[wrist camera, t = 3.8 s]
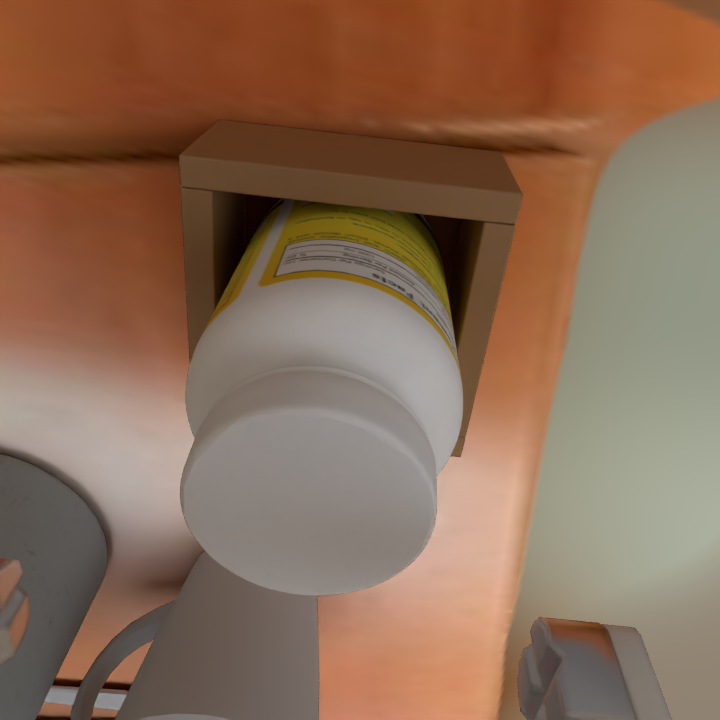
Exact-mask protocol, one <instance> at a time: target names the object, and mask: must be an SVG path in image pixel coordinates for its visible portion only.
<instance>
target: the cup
mask: <svg viewBox="0 0 720 720" xmlns="http://www.w3.org/2000/svg"><path fill="white" fill-rule="evenodd" d="M152 640H154V641H153V642H152V644H151V647H150V649H149V651H148V653H147V655H146V657H145V659H144V661H143V663H142V665H141V667H140V669H139V671H138V673H137V675H136V677H135V679H134V681H133V683H132V685H131V687H130V689H129V691H128V693H127V695H126V698H125V700H124V702H123V704H122V706H121V708H120V710H119V712H118V714H117V716H116V718H115V720H319V641H318V604H317V595H316V596H315V595H299V594H290V593H285V592H281V591H276V590H272V589H268V588H265V587H262V586H259V585H256V584H254V583H252V582H249V581H247V580H245V579H243V578H241V577H239V576H237V575H235V574H234V573H232V572H231V571H229V570H228V569H226V568H224V567H223V566H221V565H220V564H219V563H218V562H217V561H215V560H214V559H213V558H212V557H210V556H209V554H208V553H207V552H206V551H204V552H203V553H202V554H201V555H200V556H199V558H198V559H197V561H196V563H195V564H194V566H193V568H192V570H191V572H190V574H189V576H188V577H187V579H186V581H185V583H184V585H183V587H182V589H181V590H180V592H179V594H178V596H177V598H176V599H175V600H173V601H171V602H169V603H166V604H164V605H162V606H160V607H158V608H156V609H154V610H152V611H150V612H149V613H147V614H145V615H144V616H142V617H140V618H139V619H137V620H135V621H134V622H132V623H130V624H129V625H128V626H127V627H126V628H125V629H123V630H122V631H121V632H120V633H119V634H118V635H117V636H115V637H114V638H113V639H112V640H111V641H110V642H109V644H108V645H107V646H106V647H105V648H104V649H103V651H102V652H101V653H100V654H99V655H98V657H97V658H96V659H95V661H94V663H93V664H92V666H91V667H90V669H89V670H88V672H87V674H86V675H85V677H84V678H83V681H82V683H81V685H80V688H79V690H78V692H77V694H76V697H75V701H74V704H73V708H72V711H71V720H91V717H92V712H93V707H94V704H95V701H96V699H97V696H98V694H99V691H100V690H101V688H102V686H103V685H104V683H105V682H106V680H107V679H108V677H109V675H110V674H111V673H112V671H113V670H114V669H115V668H116V667H117V666H118V665H119V664H120V663H121V662H122V660H123V659H124V658H126V657H127V656H128V655H130V654H131V653H132V652H134V651H135V650H136V649H138V648H139V647H140V646H142V645H144V644H146V643H148V642H150V641H152Z"/></svg>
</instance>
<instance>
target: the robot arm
mask: <svg viewBox="0 0 720 720" xmlns="http://www.w3.org/2000/svg"><path fill="white" fill-rule="evenodd" d="M22 576H23V572H22V569H21V565H20V562H19V560H14V559H6V558H0V665H1V664H3V663H4V662H6V661H7V660H8V659H10V658H11V657H13V656H14V655H15V654H16V652H17V650H18V648H19V646H20V644H21V642H22V641H23V639H24V637H25V633H26V630H27V627H28V623H29V620H30V610H31V603H30V599H29V594H28V593H27V592H26V591H25V590H24V589H23V588H21V587H20V586H19V585H18V583H19V581H20V579H21V578H22ZM530 634H531V638H532V644H530V645H529V646H527V647H525V648H524V649H523V651H522V654H521V657H520V660H519V665H518V675H517V687H518V699H519V705H520V711H521V712H522V714H523V715H524V716H525V717H526V719H527V720H672V718H671V715H670V712H669V710H668V707H667V704H666V702H665V699H664V696H663V694H662V691H661V688H660V686H659V683H658V680H657V677H656V675H655V672H654V669H653V667H652V664H651V662H650V659H649V656H648V653H647V651H646V648H645V645H644V643H643V640H642V637H641V635H640V633H639V632H638V631H637V630H636V629H635V628H632V627H625V626H615V625H604V624H600V623H594V622H583V621H574V620H564V619H553V618H543V617H539V618H537V619H536V620H535V621H534V623H533V625H532V628H531V630H530Z"/></svg>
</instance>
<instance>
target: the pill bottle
mask: <svg viewBox="0 0 720 720" xmlns="http://www.w3.org/2000/svg"><path fill="white" fill-rule="evenodd" d="M186 410H187V415H188V420H189V424H190V427H191V430H192V433H193V435H194V438H195V439H194V443H193V445H192V448H191V451H190V453H189V456H188V459H187V461H186V464H185V466H184V469H183V473H182V478H181V484H180V500H181V507H182V512H183V515H184V518H185V521H186V523H187V525H188V527H189V529H190V531H191V533H192V535H193V536H194V538H195V539H196V541H197V542H198V543H199V545H200V546H201V547H202V548H203V549H204V550H205V551H206V552H207V553H208V554H209V556H210V557H212V558H213V559H214V560H215V561H217V562H218V563H219V564H220V565H221V566H223V567H224V568H226V569H228V570H229V571H231V572H232V573H234V574H235V575H237V576H239V577H241V578H243V579H245V580H247V581H249V582H252V583H254V584H256V585H259V586H262V587H265V588H268V589H272V590H276V591H281V592H285V593H290V594H299V595H315V596H316V595H336V594H344V593H349V592H354V591H358V590H362V589H366V588H369V587H372V586H374V585H377V584H379V583H382V582H384V581H386V580H388V579H389V578H391V577H393V576H395V575H396V574H398V573H399V572H401V571H402V570H404V569H405V568H406V567H407V566H409V565H410V564H411V563H412V562H413V561H414V560H415V559H416V558H417V557H418V556H419V554H420V553H421V552H422V551H423V549H424V548H425V546H426V544H427V543H428V541H429V539H430V537H431V534H432V531H433V528H434V526H435V520H436V513H437V488H436V476H437V475H438V474H439V473H440V471H441V470H442V468H443V467H444V466H445V464H446V462H447V461H448V459H449V458H450V456H451V454H452V452H453V450H454V447H455V445H456V442H457V440H458V436H459V433H460V428H461V423H462V417H463V387H462V380H461V373H460V368H459V362H458V356H457V350H456V343H455V336H454V330H453V323H452V317H451V311H450V305H449V298H448V292H447V286H446V279H445V273H444V268H443V261H442V257H441V252H440V249H439V246H438V242H437V240H436V237H435V234H434V232H433V230H432V228H431V227H430V225H429V223H428V222H427V220H426V219H425V217H424V216H423V215H422V214H416V213H407V212H398V211H389V210H381V209H372V208H363V207H354V206H345V205H336V204H328V203H319V202H310V201H301V200H292V199H284V198H281V199H280V200H279V201H278V202H277V203H276V204H275V205H274V206H273V207H272V208H271V209H270V210H269V211H268V213H267V214H266V215H265V217H264V218H263V220H262V221H261V223H260V224H259V226H258V227H257V229H256V231H255V233H254V235H253V237H252V239H251V241H250V243H249V245H248V247H247V249H246V251H245V252H244V254H243V256H242V258H241V260H240V262H239V264H238V266H237V268H236V270H235V272H234V274H233V276H232V278H231V280H230V282H229V284H228V286H227V287H226V289H225V291H224V293H223V295H222V297H221V299H220V301H219V303H218V305H217V307H216V309H215V311H214V313H213V314H212V316H211V318H210V320H209V322H208V324H207V326H206V328H205V330H204V332H203V334H202V335H201V337H200V339H199V342H198V344H197V346H196V348H195V350H194V353H193V357H192V360H191V363H190V366H189V369H188V375H187V381H186Z"/></svg>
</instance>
